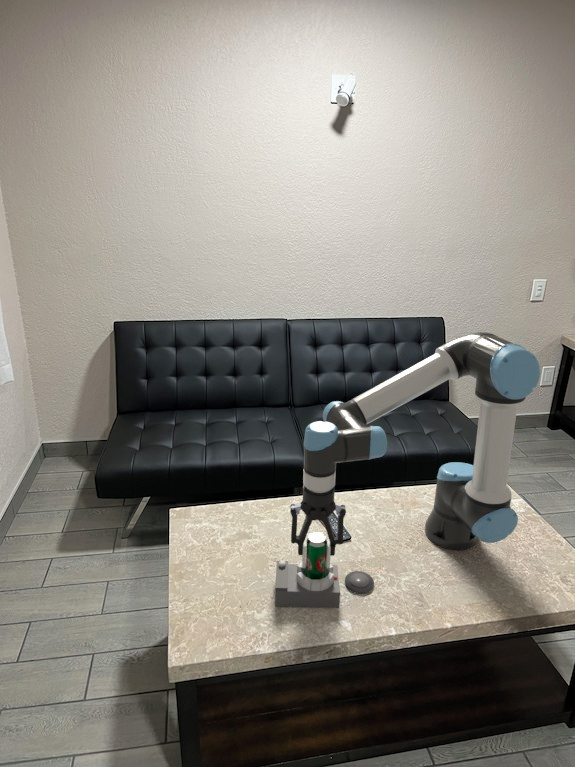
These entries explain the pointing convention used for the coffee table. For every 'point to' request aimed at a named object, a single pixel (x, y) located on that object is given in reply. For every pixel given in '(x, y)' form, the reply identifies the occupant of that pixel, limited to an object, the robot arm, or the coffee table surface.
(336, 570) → the camera body
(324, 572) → the soda can
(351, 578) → the lens cap
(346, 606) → the coffee table surface
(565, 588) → the coffee table surface
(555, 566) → the coffee table surface
